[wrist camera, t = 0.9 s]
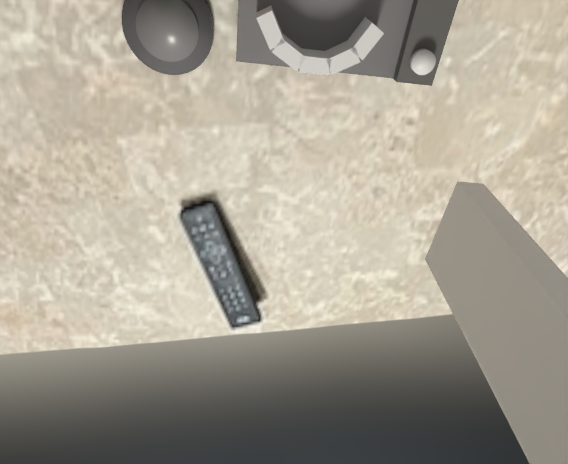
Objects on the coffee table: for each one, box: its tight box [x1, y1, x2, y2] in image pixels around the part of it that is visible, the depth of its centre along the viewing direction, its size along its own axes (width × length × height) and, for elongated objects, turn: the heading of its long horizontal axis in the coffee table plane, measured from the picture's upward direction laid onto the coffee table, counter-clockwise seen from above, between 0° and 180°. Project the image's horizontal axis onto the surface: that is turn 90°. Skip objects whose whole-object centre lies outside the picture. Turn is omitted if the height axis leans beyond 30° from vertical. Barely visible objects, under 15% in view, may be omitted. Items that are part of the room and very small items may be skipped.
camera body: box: [236, 0, 459, 86], centre depth 32 cm, size 16×10×8 cm, turn 83°
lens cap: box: [122, 0, 214, 75], centre depth 36 cm, size 8×8×1 cm
